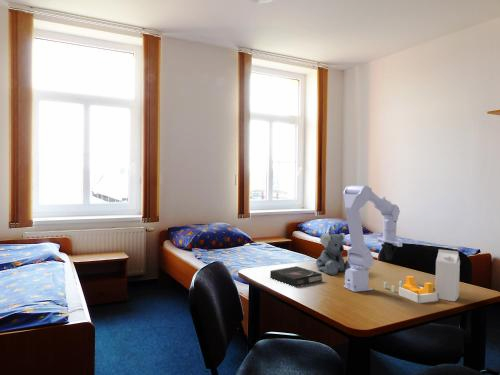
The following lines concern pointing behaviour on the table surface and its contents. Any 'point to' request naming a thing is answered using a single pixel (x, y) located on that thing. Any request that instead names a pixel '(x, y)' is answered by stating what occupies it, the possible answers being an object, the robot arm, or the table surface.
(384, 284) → the small blocks
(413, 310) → the table surface
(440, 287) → the milk carton
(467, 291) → the table surface
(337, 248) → the koala plush
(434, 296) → the end holder
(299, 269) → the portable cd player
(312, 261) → the table surface
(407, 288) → the pipe clamp
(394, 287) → the clips
